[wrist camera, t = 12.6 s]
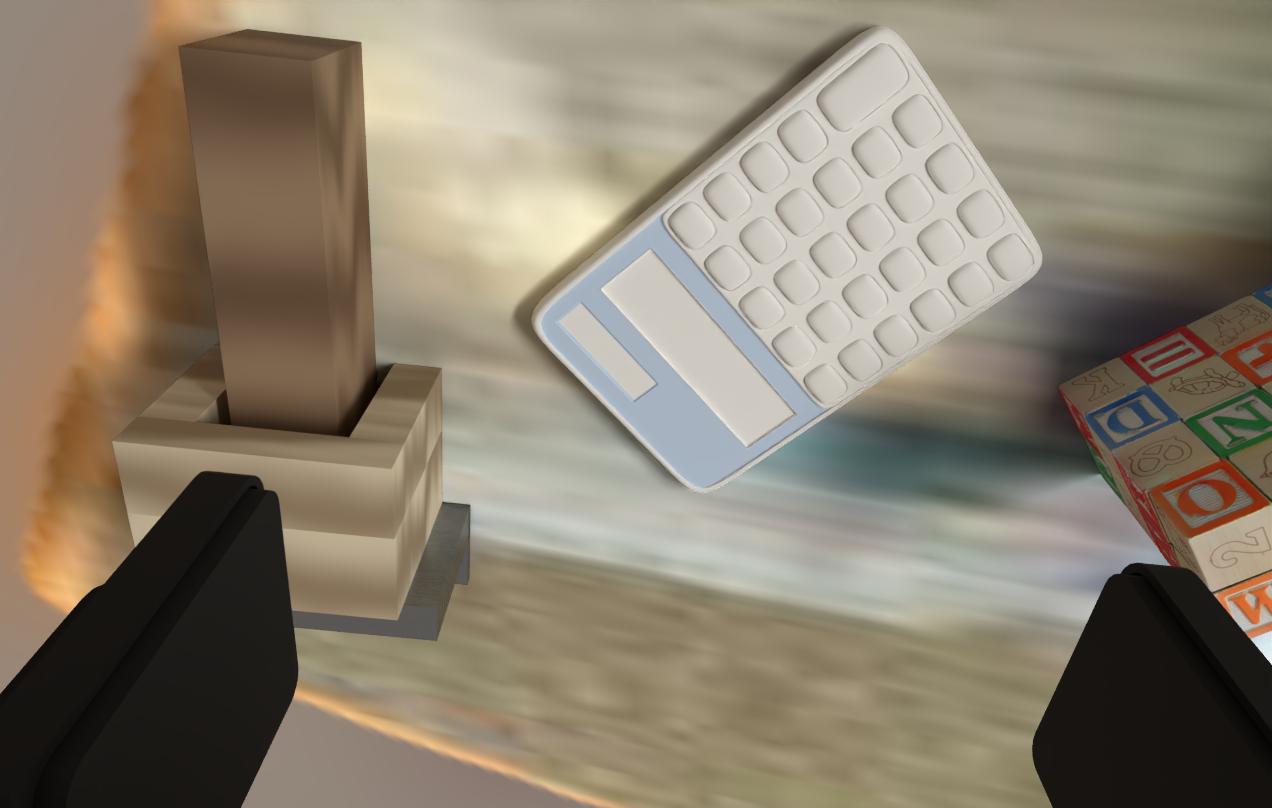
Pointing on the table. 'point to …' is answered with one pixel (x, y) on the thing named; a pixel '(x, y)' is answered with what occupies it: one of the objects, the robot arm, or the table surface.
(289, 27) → the table surface
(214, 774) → the robot arm
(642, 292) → the calculator
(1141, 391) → the stack of blocks
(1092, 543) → the table surface
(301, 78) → the walnut bar
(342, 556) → the maple block
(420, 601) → the grey piece
